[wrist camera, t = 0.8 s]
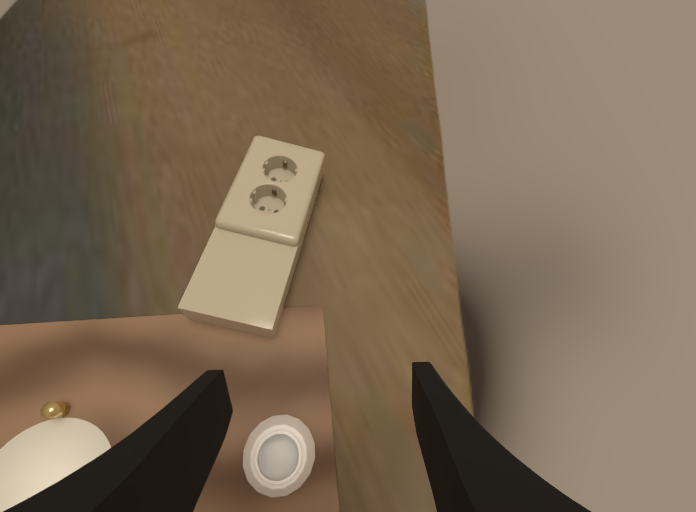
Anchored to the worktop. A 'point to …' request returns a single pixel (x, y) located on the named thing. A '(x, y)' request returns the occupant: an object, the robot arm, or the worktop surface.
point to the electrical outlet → (256, 239)
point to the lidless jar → (278, 455)
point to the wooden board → (159, 398)
